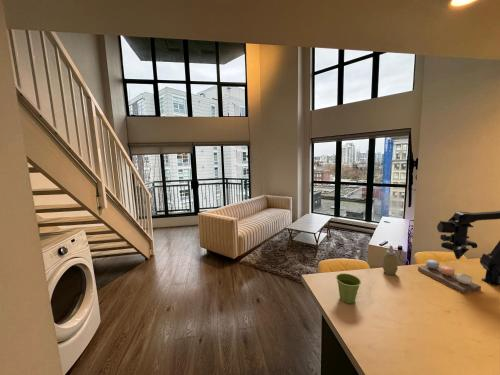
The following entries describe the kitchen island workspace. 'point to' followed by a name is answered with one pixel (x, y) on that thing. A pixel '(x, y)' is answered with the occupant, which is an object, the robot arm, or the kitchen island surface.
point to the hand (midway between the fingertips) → (457, 258)
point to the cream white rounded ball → (464, 278)
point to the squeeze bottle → (390, 262)
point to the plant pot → (348, 287)
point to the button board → (449, 280)
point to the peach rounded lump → (447, 271)
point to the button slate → (432, 264)
